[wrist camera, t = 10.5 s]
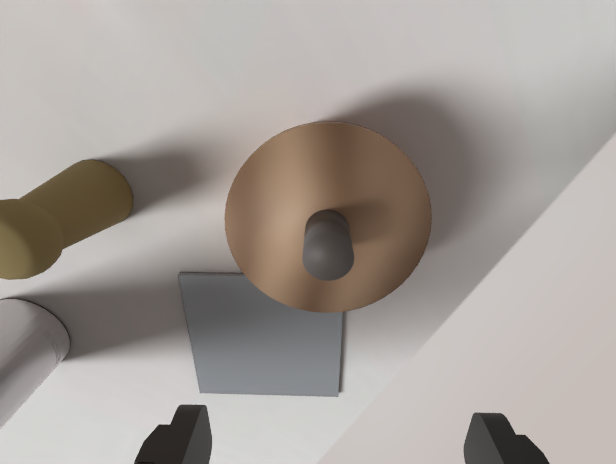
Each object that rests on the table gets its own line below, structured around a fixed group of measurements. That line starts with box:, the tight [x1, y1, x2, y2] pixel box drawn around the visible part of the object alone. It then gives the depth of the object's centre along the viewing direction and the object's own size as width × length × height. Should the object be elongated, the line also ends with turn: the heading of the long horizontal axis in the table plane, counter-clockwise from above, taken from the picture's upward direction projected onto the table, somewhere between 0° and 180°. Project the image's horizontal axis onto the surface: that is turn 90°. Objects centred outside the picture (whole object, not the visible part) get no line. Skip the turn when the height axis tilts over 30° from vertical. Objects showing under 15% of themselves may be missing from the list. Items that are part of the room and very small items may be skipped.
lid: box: [225, 121, 432, 313], centre depth 22 cm, size 14×14×5 cm
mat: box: [178, 272, 343, 397], centre depth 36 cm, size 16×16×1 cm
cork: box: [0, 160, 133, 280], centre depth 25 cm, size 6×6×11 cm
